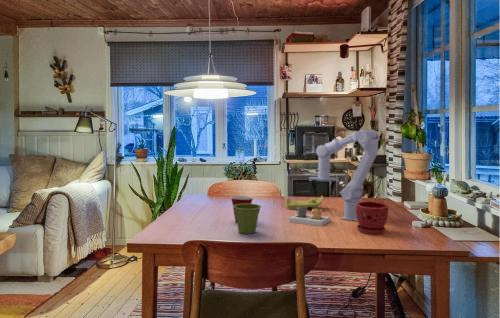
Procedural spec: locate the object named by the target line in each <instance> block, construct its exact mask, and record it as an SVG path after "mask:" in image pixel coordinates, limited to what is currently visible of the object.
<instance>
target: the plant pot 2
mask: <svg viewBox="0 0 500 318" xmlns="http://www.w3.org/2000/svg"><path fill="white" fill-rule="evenodd" d="M363 214H365V215H363ZM356 216H357V221H356V222H357V223H358V224H357V225H356V228H357V230H358V231H359V232H360V233H364V234H369V235H378V234H383V233H384V232H385V231H386V227H385V225H386V223H387V221H388V217H389V205H388V204H386V203H383V202H380V201H379V202H377V201H371V200H370V201H366V200H365V201H361V202H359V203H357V204H356Z"/></svg>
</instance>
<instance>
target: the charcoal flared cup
mask: <svg viewBox="0 0 500 318" xmlns="http://www.w3.org/2000/svg"><path fill="white" fill-rule="evenodd" d="M296 211H297V214H298V217H300V218H306V214H307V212H308V208H305V207H298V208H297V209H296Z"/></svg>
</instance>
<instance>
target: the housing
mask: <svg viewBox="0 0 500 318" xmlns="http://www.w3.org/2000/svg"><path fill="white" fill-rule="evenodd" d="M331 219H332V218H331V216H324V215H321V220H317V219H313V214H309V213H308V214H307V213H306V218H300V217H298V213H297V214H295V215H292V216H290V217H288V222H289V223H294V224H301V225H309V226H316V227H323V226H324V225H326V224H328V223H330V222H331Z"/></svg>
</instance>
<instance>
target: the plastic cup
mask: <svg viewBox="0 0 500 318" xmlns="http://www.w3.org/2000/svg"><path fill="white" fill-rule="evenodd" d="M230 199H231V202H232V203H231V204H232V210H233V215H234V219H235V223H236V222H237V217H236V213H235V208H234V207H233V206H234V205H236V204H253V200H254V197H252V196H245V195H244V196H242V195H239V196H238V195H236V196H235V195H233V196H230Z"/></svg>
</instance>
